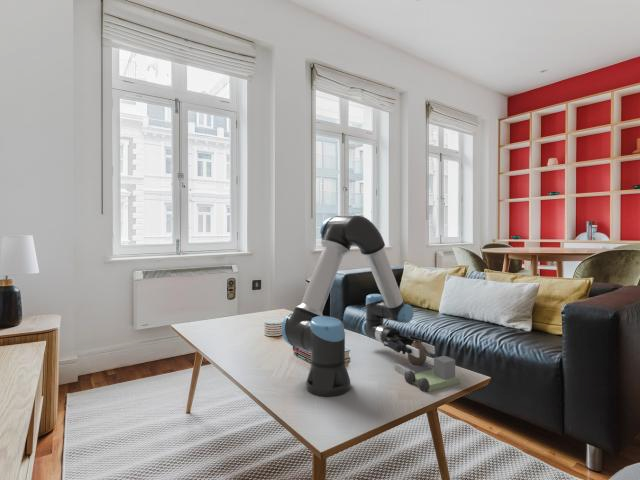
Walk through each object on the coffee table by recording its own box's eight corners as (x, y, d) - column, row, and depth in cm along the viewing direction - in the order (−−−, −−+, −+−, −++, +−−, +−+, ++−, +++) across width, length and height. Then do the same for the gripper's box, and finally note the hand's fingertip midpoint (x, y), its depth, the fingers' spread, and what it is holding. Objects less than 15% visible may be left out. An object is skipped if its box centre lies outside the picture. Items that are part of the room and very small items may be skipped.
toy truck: (404, 381, 137) (404, 358, 137) (437, 372, 144) (437, 351, 144) (425, 393, 127) (425, 369, 127) (460, 383, 134) (460, 360, 134)
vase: (427, 367, 141) (426, 344, 141) (407, 366, 143) (407, 343, 142) (426, 361, 148) (425, 338, 148) (407, 360, 149) (407, 337, 149)
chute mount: (394, 370, 147) (394, 364, 147) (421, 364, 153) (421, 358, 153) (412, 379, 138) (412, 372, 138) (439, 372, 144) (439, 366, 144)
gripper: (406, 341, 166) (446, 357, 145) (368, 348, 157) (405, 367, 136) (406, 323, 165) (446, 337, 145) (368, 330, 157) (404, 346, 136)
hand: (426, 352), depth 141 cm, fingers closed on vase, 6 cm apart
